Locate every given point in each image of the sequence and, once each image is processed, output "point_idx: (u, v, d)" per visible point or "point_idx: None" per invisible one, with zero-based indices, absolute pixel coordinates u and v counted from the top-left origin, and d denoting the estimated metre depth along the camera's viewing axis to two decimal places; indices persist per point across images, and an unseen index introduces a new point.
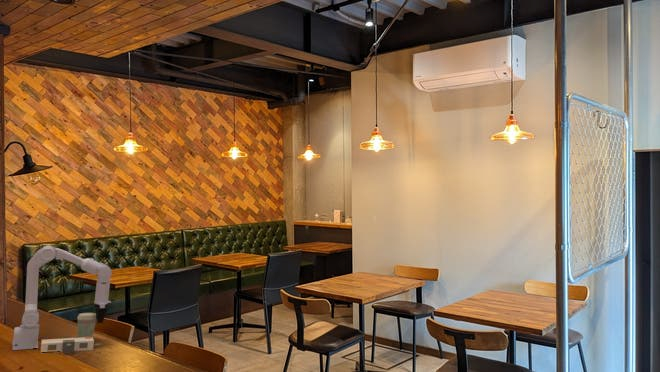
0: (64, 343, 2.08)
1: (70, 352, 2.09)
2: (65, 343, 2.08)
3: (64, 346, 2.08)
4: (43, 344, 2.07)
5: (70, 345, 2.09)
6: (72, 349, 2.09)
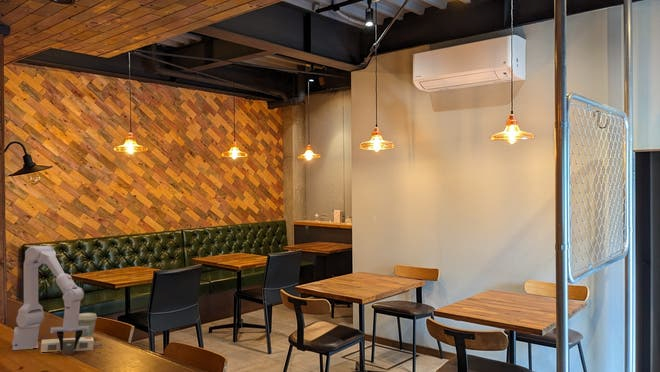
0: (64, 343, 2.08)
1: (70, 352, 2.09)
2: (65, 343, 2.08)
3: (64, 346, 2.08)
4: (43, 344, 2.07)
5: (70, 345, 2.09)
6: (72, 349, 2.09)
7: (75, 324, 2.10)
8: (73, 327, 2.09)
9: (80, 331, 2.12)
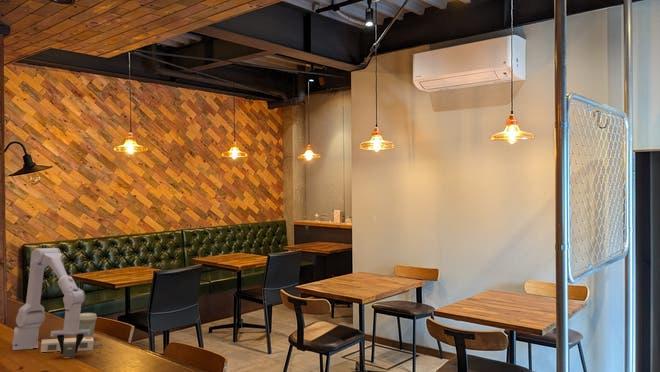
0: (65, 347, 2.02)
1: (71, 356, 2.03)
2: (66, 347, 2.02)
3: (65, 350, 2.02)
4: (43, 344, 2.07)
5: (71, 349, 2.03)
6: (73, 353, 2.03)
7: (76, 327, 2.04)
8: (74, 330, 2.03)
9: (81, 334, 2.06)
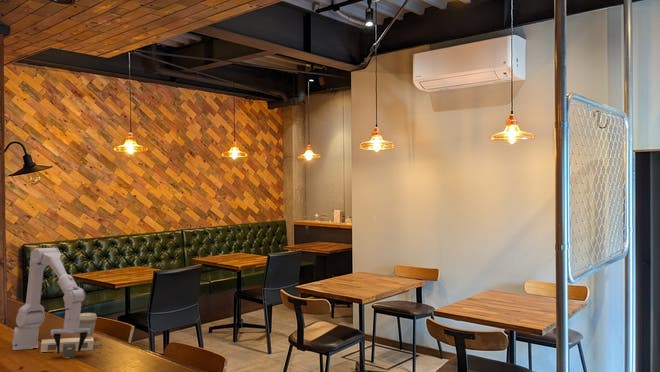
0: (65, 347, 2.02)
1: (71, 356, 2.03)
2: (66, 347, 2.02)
3: (65, 350, 2.02)
4: (43, 344, 2.07)
5: (71, 349, 2.03)
6: (73, 353, 2.03)
7: (76, 326, 2.04)
8: (74, 329, 2.03)
9: (81, 333, 2.06)
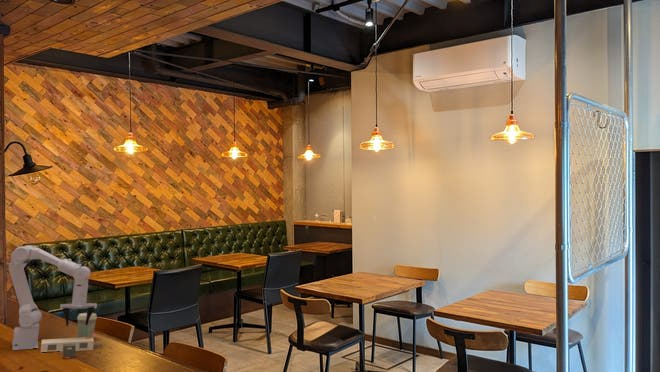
0: (65, 347, 2.02)
1: (71, 356, 2.03)
2: (66, 347, 2.02)
3: (65, 350, 2.02)
4: (43, 344, 2.07)
5: (71, 349, 2.03)
6: (73, 353, 2.03)
7: (84, 301, 2.18)
8: (82, 304, 2.18)
9: (88, 308, 2.21)
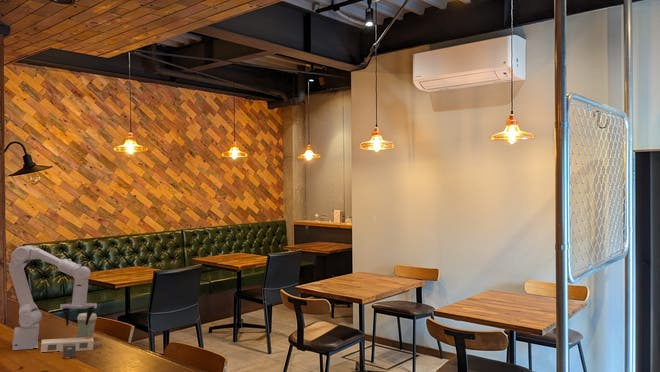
0: (65, 347, 2.02)
1: (71, 356, 2.03)
2: (66, 347, 2.02)
3: (65, 350, 2.02)
4: (43, 344, 2.07)
5: (71, 349, 2.03)
6: (73, 353, 2.03)
7: (84, 301, 2.18)
8: (82, 304, 2.18)
9: (88, 308, 2.21)
